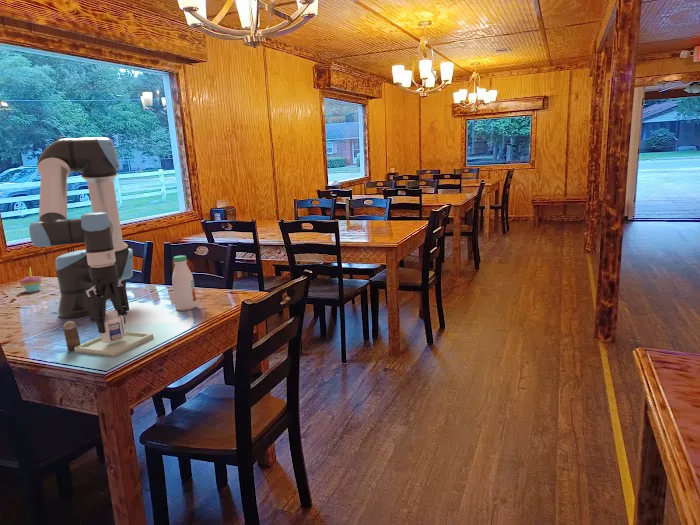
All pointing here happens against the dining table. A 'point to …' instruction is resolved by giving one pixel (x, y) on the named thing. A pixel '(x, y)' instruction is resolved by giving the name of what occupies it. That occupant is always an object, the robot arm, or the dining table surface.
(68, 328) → the pepper shaker
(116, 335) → the pill bottle
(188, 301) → the milk bottle
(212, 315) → the dining table surface
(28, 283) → the cupcake
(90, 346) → the tray
